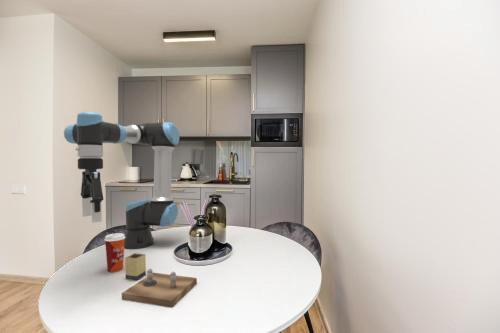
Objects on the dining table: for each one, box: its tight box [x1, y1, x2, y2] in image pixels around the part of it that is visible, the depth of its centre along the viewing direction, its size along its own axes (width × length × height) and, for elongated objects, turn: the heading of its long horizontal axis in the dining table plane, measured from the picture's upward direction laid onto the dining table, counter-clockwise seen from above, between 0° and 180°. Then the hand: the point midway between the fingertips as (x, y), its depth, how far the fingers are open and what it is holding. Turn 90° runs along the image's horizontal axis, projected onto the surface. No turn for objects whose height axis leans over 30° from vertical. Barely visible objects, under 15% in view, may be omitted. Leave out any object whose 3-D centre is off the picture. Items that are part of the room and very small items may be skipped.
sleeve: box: [124, 253, 147, 281], centre depth 99 cm, size 5×5×8 cm
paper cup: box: [103, 232, 125, 273], centre depth 107 cm, size 8×8×14 cm
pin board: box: [121, 268, 198, 308], centre depth 88 cm, size 16×18×7 cm
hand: (91, 218), depth 91 cm, fingers open, 13 cm apart
